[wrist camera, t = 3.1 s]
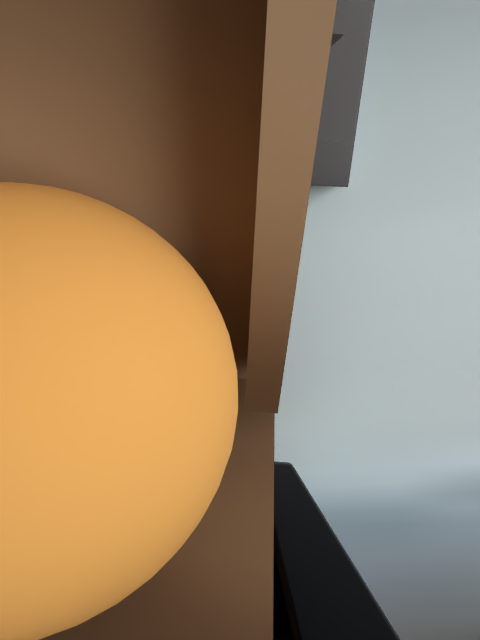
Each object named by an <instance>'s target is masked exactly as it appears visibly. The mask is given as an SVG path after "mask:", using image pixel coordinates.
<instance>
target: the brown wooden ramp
mask: <svg viewBox="0 0 480 640" xmlns="http://www.w3.org/2000/svg"><path fill="white" fill-rule="evenodd" d="M336 5H337V0H0V182H14V183H28V184H36V185H45V186H53V187H57V188H61V189H65V190H69V191H73V192H77V193H81V194H83V195H86V196H89V197H91V198H94V199H97V200H99V201H102V202H105V203H107V204H109V205H111V206H113V207H115V208H117V209H119V210H121V211H123V212H125V213H127V214H129V215H131V216H133V217H134V218H136V219H137V220H139V221H140V222H142V223H143V224H145V225H146V226H148V227H149V228H151V229H152V230H154V231H155V232H156V233H157V234H159V235H160V236H161V237H162V238H163V239H165V240H166V241H167V242H168V243H169V244H171V245H172V246H173V247H174V248H175V249H176V250H177V251H178V252H179V253H180V254H181V255H182V256H183V257H184V258H185V259H186V260H187V261H188V263H189V264H190V265H191V266H192V267H193V268H194V270H195V271H196V272H197V274H198V275H199V276H200V278H201V279H202V281H203V282H204V283H205V285H206V286H207V288H208V290H209V292H210V294H211V295H212V297H213V299H214V301H215V303H216V304H217V306H218V309H219V311H220V313H221V315H222V317H223V320H224V322H225V325H226V328H227V330H228V333H229V336H230V340H231V345H232V350H233V354H234V359H235V364H236V368H237V380H238V415H237V422H236V429H235V435H234V441H233V446H232V451H231V454H230V456H229V459H228V462H227V465H226V468H225V471H224V474H223V477H222V480H221V482H220V485H219V488H218V490H217V492H216V494H215V496H214V497H213V499H212V501H211V503H210V505H209V507H208V509H207V511H206V512H205V514H204V516H203V517H202V519H201V521H200V522H199V524H198V525H197V527H196V528H195V529H194V531H193V532H192V534H191V535H190V536H189V538H188V539H187V540H186V542H185V543H184V544H183V546H182V547H181V548H180V549H179V550H178V551H177V552H176V553H175V555H174V556H173V557H172V558H171V559H170V560H169V561H168V562H167V563H166V564H165V565H164V566H163V567H162V568H161V569H160V570H159V571H158V572H157V573H156V574H155V575H154V576H153V577H152V578H151V579H149V580H148V581H147V582H145V583H144V584H143V585H142V586H140V587H139V588H138V589H136V590H135V591H134V592H132V593H131V594H130V595H128V596H127V597H126V598H124V599H123V600H122V601H120V602H119V603H118V604H116V605H114V606H113V607H111V608H109V609H107V610H105V611H103V612H102V613H100V614H98V615H96V616H94V617H92V618H91V619H89V620H87V621H85V622H83V623H81V624H79V625H78V626H75V627H72V628H69V629H67V630H64V631H61V632H58V633H56V634H53V635H50V636H47V637H45V638H42V639H39V640H273V557H274V413H278V406H279V399H280V393H281V386H282V379H283V372H284V365H285V358H286V351H287V344H288V337H289V330H290V323H291V316H292V310H293V303H294V296H295V289H296V282H297V275H298V268H299V261H300V254H301V247H302V240H303V233H304V227H305V220H306V213H307V206H308V199H309V192H310V185H311V178H312V171H313V164H314V157H315V150H316V143H317V137H318V130H319V123H320V116H321V109H322V102H323V95H324V88H325V81H326V74H327V67H328V60H329V54H330V47H331V40H332V33H333V26H334V19H335V12H336Z"/></svg>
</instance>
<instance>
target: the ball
mask: <svg viewBox="0 0 480 640" xmlns="http://www.w3.org/2000/svg"><path fill="white" fill-rule="evenodd" d="M237 415H238V380H237V368H236V364H235V359H234V354H233V350H232V345H231V340H230V336H229V333H228V330H227V328H226V325H225V322H224V320H223V317H222V315H221V313H220V311H219V309H218V306H217V304H216V303H215V301H214V299H213V297H212V295H211V294H210V292H209V290H208V288H207V286H206V285H205V283H204V282H203V281H202V279H201V278H200V276H199V275H198V274H197V272H196V271H195V270H194V268H193V267H192V266H191V265H190V264H189V263H188V261H187V260H186V259H185V258H184V257H183V256H182V255H181V254H180V253H179V252H178V251H177V250H176V249H175V248H174V247H173V246H172V245H171V244H169V243H168V242H167V241H166V240H165V239H163V238H162V237H161V236H160V235H159V234H157V233H156V232H155V231H154V230H152V229H151V228H149V227H148V226H146V225H145V224H143V223H142V222H140V221H139V220H137V219H136V218H134V217H133V216H131V215H129V214H127V213H125V212H123V211H121V210H119V209H117V208H115V207H113V206H111V205H109V204H107V203H105V202H102V201H99V200H97V199H94V198H91V197H89V196H86V195H83V194H81V193H77V192H73V191H69V190H65V189H61V188H57V187H53V186H45V185H36V184H28V183H14V182H0V640H39V639H42V638H45V637H47V636H50V635H53V634H56V633H58V632H61V631H64V630H67V629H69V628H72V627H75V626H78V625H79V624H81V623H83V622H85V621H87V620H89V619H91V618H92V617H94V616H96V615H98V614H100V613H102V612H103V611H105V610H107V609H109V608H111V607H113V606H114V605H116V604H118V603H119V602H120V601H122V600H123V599H124V598H126V597H127V596H128V595H130V594H131V593H132V592H134V591H135V590H136V589H138V588H139V587H140V586H142V585H143V584H144V583H145V582H147V581H148V580H149V579H151V578H152V577H153V576H154V575H155V574H156V573H157V572H158V571H159V570H160V569H161V568H162V567H163V566H164V565H165V564H166V563H167V562H168V561H169V560H170V559H171V558H172V557H173V556H174V555H175V553H176V552H177V551H178V550H179V549H180V548H181V547H182V546H183V544H184V543H185V542H186V540H187V539H188V538H189V536H190V535H191V534H192V532H193V531H194V529H195V528H196V527H197V525H198V524H199V522H200V521H201V519H202V517H203V516H204V514H205V512H206V511H207V509H208V507H209V505H210V503H211V501H212V499H213V497H214V496H215V494H216V492H217V490H218V488H219V485H220V482H221V480H222V477H223V474H224V471H225V468H226V465H227V462H228V459H229V456H230V454H231V451H232V446H233V441H234V435H235V429H236V422H237Z"/></svg>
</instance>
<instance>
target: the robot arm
mask: <svg viewBox="0 0 480 640" xmlns="http://www.w3.org/2000/svg"><path fill="white" fill-rule="evenodd" d="M273 640H400V639H399V637H398V635H397V634H396V632H395V631H394V629H393V627H392V626H391V624H390V622H389V621H388V619H387V618H386V616H385V614H384V613H383V611H382V609H381V608H380V606H379V605H378V603H377V601H376V600H375V598H374V597H373V595H372V593H371V592H370V590H369V588H368V587H367V585H366V584H365V582H364V580H363V579H362V577H361V575H360V574H359V572H358V571H357V569H356V567H355V566H354V564H353V562H352V561H351V559H350V558H349V556H348V554H347V553H346V551H345V549H344V548H343V546H342V545H341V543H340V541H339V540H338V538H337V536H336V535H335V533H334V532H333V530H332V528H331V527H330V525H329V523H328V522H327V520H326V519H325V517H324V515H323V514H322V512H321V511H320V509H319V507H318V506H317V504H316V502H315V501H314V499H313V498H312V496H311V494H310V493H309V491H308V489H307V488H306V486H305V485H304V483H303V481H302V480H301V478H300V476H299V475H298V473H297V472H296V470H295V468H294V467H293V465H292V464H290V463H288V462H274V557H273Z"/></svg>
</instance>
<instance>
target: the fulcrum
mask: <svg viewBox="0 0 480 640" xmlns="http://www.w3.org/2000/svg"><path fill="white" fill-rule="evenodd" d="M374 2H375V0H337V5H336V12H335V19H334V26H333V33H332V40H331V47H330V54H329V60H328V67H327V74H326V81H325V88H324V95H323V102H322V109H321V116H320V123H319V130H318V137H317V143H316V150H315V157H314V164H313V171H312V178H311V185H318V186H337V187H348V183H349V176H350V169H351V162H352V155H353V148H354V141H355V134H356V127H357V120H358V113H359V106H360V99H361V92H362V85H363V78H364V71H365V64H366V57H367V50H368V43H369V37H370V30H371V23H372V16H373V9H374Z"/></svg>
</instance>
